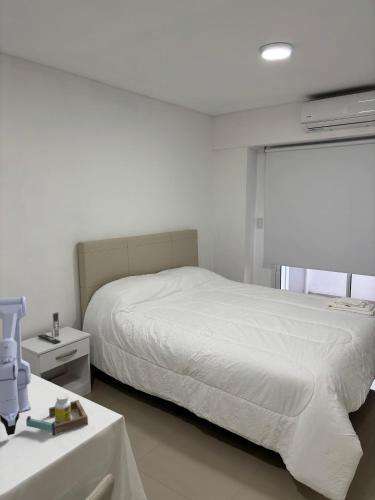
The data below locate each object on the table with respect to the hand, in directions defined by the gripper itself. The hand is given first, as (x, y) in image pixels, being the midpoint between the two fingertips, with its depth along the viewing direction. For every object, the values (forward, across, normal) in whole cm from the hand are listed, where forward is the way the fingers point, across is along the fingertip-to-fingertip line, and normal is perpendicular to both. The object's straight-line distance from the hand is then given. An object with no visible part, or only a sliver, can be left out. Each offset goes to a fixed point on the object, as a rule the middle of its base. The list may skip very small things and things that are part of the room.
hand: (10, 433), depth 128 cm
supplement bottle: (+2, -1, +17) cm, 17 cm away
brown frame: (+2, -1, +18) cm, 18 cm away
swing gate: (0, +1, +9) cm, 9 cm away
